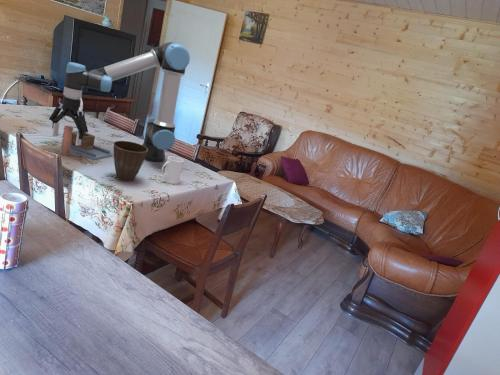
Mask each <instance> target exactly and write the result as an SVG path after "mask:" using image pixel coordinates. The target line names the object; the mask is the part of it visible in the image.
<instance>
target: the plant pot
mask: <svg viewBox="0 0 500 375" xmlns="http://www.w3.org/2000/svg"><path fill="white" fill-rule="evenodd" d="M147 151H148V149H147V148H146V147H145V146H143V144H140V143H137V142H133V141H130V140H129V141H127V140H117V141H114V142H113V162H114V170H115V174H116V178H117V179H118V180H120V181H123V182H132V181H134V179H135V178H136V176H137V175H138V173H139V172H140V170H141V168H142V166H143V164H144V161H145V157H146V154H147Z"/></svg>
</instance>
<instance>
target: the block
mask: <svg viewBox="0 0 500 375" xmlns="http://www.w3.org/2000/svg"><path fill="white" fill-rule="evenodd" d="M76 138H77V132H73V133H72V140H71V145H73V146H76ZM95 140H96V136H95V135H92V134H91V133H88V132H86V133H84V135H83V139H82V140H81V145H78V146H76V147H78V148H81V149H84V150H89V149H93V147H94V145H95Z"/></svg>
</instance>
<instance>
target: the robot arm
mask: <svg viewBox="0 0 500 375" xmlns="http://www.w3.org/2000/svg"><path fill="white" fill-rule="evenodd" d="M190 57H191V56H190V53H189V51H188V49H187V48H186V47H185V46H184V45H182V44H180V43H176V42H173V41H170V42H166V43H164V44H161V45H159V46H156V47H154V48H153V47H152V48H151V49H150V51H149V52H146V53H142V54H140V55H136V56H133V57H130V58H127V59H125V60H121V61H118V62H115V63H112V64H109V65H106V66H104V67H99V68H97V69H96V68H94V69H92V70H87V69H86V65H83V64H81V63H77V62H74V61H73V62H71V61H69V62H68V63H67V65H66V70H65V78H64V79H65V80H64V86H63V93H62V95H63V96H62V102H61V103H56V106H55V108H54V110H53V112H52V113H51V115H50V116H49V118H48V119H49V120H50V121H51V122H52V126H51V129H52V135H51V136H52V137H58V136H59V130H60V121H61V120H62V119H63V118H65V116H69V117H70V118H72V119H73V120H74V122H73V123H74V125H75V126H76V129H77V131H79V132H77V138H76V146H78V145H81V140H82V139H83V135H84V133H88V132H89V130H88V125H87V122H86V116H85V114H86V113H85V111H83V110H82V111H79V107H80V103H81V100H80V98H81V97H82V95H83V89H84V88H87V89H91V90H92V89H93V90H96V91H100V92H106V93H110V92H111V89H112V87H113V86H112V85H113V82H114V81H116V80H119V79H122V78H126V77H129V76H131V75H135V74H137V73H140V72H144V71H146V70H149V69H152V68H155V67H157V68H161V70H162V72H163V78H162V84H161V90H160V95H159V100H158V101H159V102H158V109H157V115H156V118H154V117H149V118H148V120H147V123H146V129H145V133H144V134H145V135H144V139H143V143H142V145H143V146H145V147H146V148H147V149H148V151H147V154H146V157H145V159H144V161H145V160H146V161H149V162H155V163H163V162H164V161H165V160H166V152H165V151H167V150H169V149H171V148H172V147H173V146H174V145H175V143H176V136H175V129H176V125H175V123H174V119H175V113H176V109H177V108H176V107H177V101H178V95H179V90H180V85H181V79H182V77H183V76H184V75H185V73H186V68H187V67H188V65H189V64H190V60H191V58H190ZM78 115H79V116H78ZM75 116H76V117H75Z"/></svg>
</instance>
